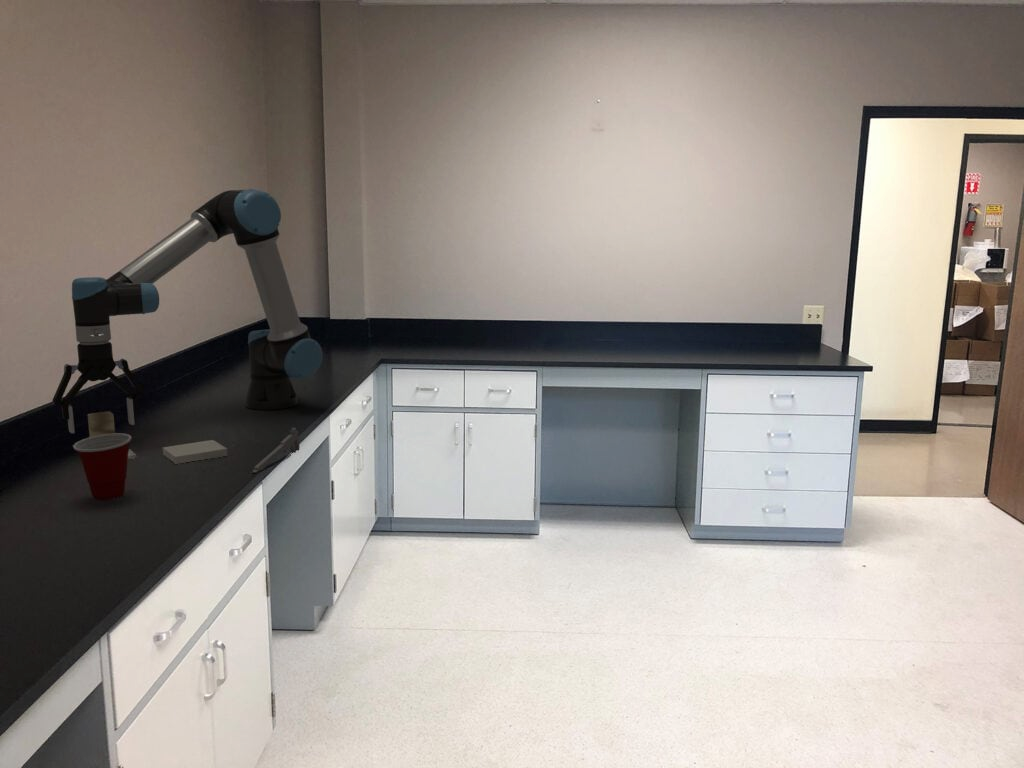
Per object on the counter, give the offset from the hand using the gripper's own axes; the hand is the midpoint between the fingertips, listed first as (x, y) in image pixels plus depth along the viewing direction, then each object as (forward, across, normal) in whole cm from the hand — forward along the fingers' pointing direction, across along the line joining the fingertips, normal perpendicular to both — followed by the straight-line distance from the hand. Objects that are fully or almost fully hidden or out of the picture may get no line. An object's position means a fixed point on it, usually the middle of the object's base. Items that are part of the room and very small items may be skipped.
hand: (102, 428), depth 211 cm
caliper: (+6, +30, -36) cm, 47 cm away
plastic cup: (+5, -8, -40) cm, 41 cm away
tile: (+4, +16, -15) cm, 22 cm away
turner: (+5, 0, -4) cm, 6 cm away
